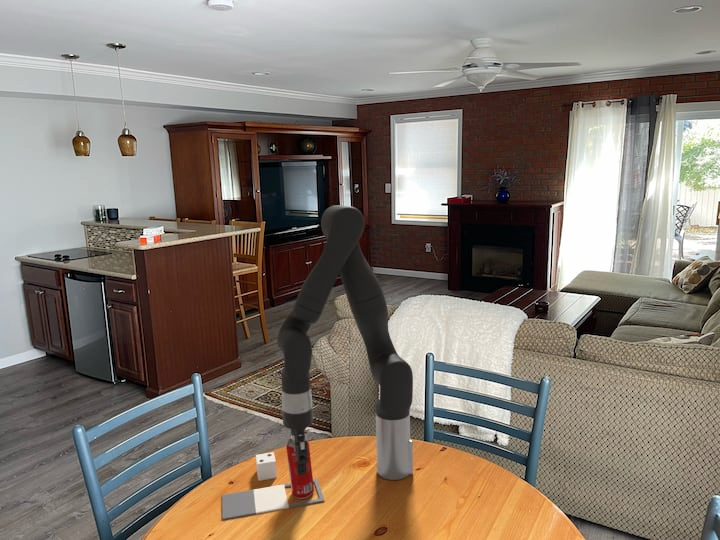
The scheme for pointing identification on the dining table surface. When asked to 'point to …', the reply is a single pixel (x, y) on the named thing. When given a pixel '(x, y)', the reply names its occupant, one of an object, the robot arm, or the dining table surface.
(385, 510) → the dining table surface
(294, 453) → the beverage can
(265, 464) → the die
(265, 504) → the grey frame tray
